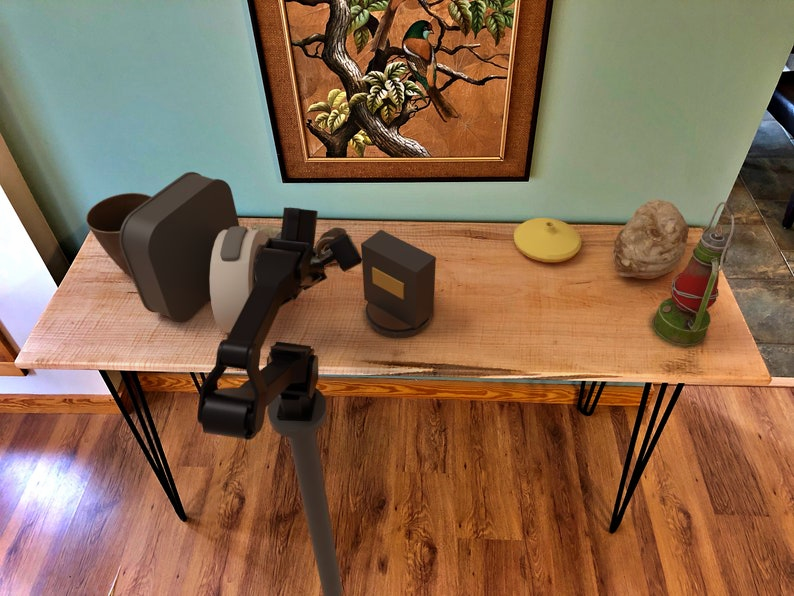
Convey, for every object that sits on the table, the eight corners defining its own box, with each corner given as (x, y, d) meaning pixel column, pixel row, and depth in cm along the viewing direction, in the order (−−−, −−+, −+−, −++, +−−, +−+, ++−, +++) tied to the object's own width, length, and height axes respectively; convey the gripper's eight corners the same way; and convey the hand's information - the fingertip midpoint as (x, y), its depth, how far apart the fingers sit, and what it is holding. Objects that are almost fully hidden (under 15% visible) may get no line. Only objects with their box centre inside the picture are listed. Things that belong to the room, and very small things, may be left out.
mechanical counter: (297, 244, 142) (334, 246, 138) (322, 210, 150) (358, 211, 146) (308, 267, 147) (344, 270, 143) (331, 233, 155) (366, 235, 150)
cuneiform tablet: (299, 259, 147) (249, 254, 148) (304, 250, 151) (256, 246, 152) (297, 231, 143) (247, 227, 144) (302, 223, 147) (253, 219, 148)
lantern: (645, 304, 134) (687, 184, 114) (695, 307, 133) (747, 187, 113) (659, 352, 124) (708, 230, 104) (714, 355, 123) (775, 233, 103)
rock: (682, 295, 136) (705, 240, 126) (608, 288, 138) (624, 233, 128) (669, 246, 149) (689, 192, 139) (602, 240, 151) (616, 187, 141)
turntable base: (431, 339, 127) (431, 334, 126) (362, 337, 128) (362, 332, 127) (431, 293, 138) (431, 288, 136) (368, 291, 138) (368, 286, 137)
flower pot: (174, 243, 152) (157, 187, 141) (178, 281, 141) (160, 224, 130) (110, 256, 148) (86, 199, 138) (109, 296, 138) (84, 238, 127)
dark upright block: (404, 340, 124) (404, 282, 114) (353, 310, 131) (348, 252, 121) (443, 306, 132) (446, 248, 121) (392, 279, 138) (391, 221, 128)
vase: (593, 253, 147) (599, 229, 142) (544, 278, 141) (549, 253, 136) (546, 221, 157) (550, 197, 152) (498, 243, 150) (501, 219, 146)
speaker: (176, 332, 129) (141, 235, 112) (144, 319, 132) (105, 223, 115) (247, 263, 146) (227, 170, 129) (218, 253, 149) (194, 160, 132)
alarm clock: (258, 346, 126) (241, 272, 113) (222, 346, 126) (200, 272, 113) (275, 278, 142) (261, 205, 128) (242, 278, 142) (225, 205, 129)
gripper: (324, 203, 108) (344, 213, 123) (233, 254, 110) (265, 258, 126) (353, 259, 107) (370, 263, 123) (262, 310, 110) (290, 307, 125)
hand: (322, 272), depth 124 cm, fingers open, 9 cm apart
